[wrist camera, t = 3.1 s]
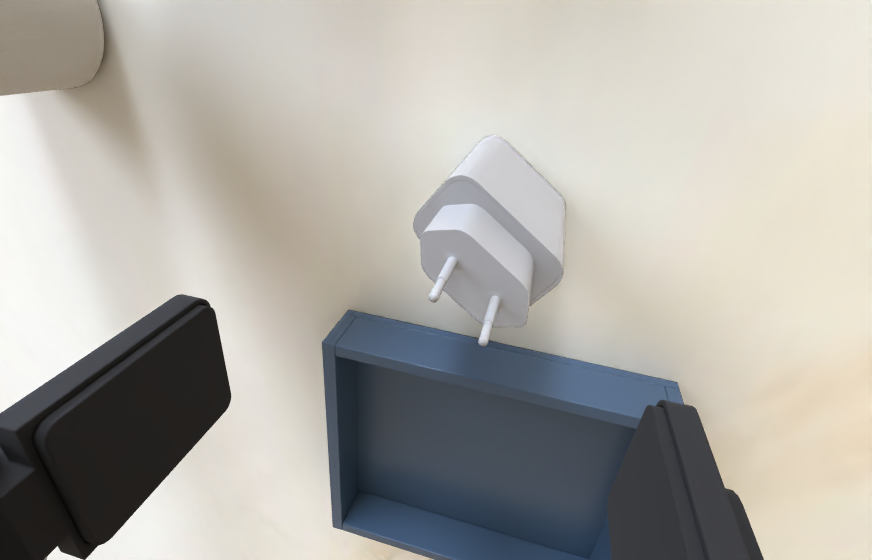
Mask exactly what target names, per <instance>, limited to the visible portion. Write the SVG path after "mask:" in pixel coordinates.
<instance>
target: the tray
mask: <svg viewBox="0 0 872 560" xmlns="http://www.w3.org/2000/svg"><path fill="white" fill-rule="evenodd" d="M478 340H479V338H474V337H470V336H465V335H461V334H456V333H452V332H447V331H443V330H438V329H434V328H429V327H425V326H420V325H416V324H411V323H407V322H402V321H398V320H393V319H388V318H384V317H379V316H375V315H370V314H366V313H361V312H357V311H352V310H348V311H347V312H346V313H345V315H344V316H343V317H342V318H341V319H340V321H339V322H338V323H337V324H336V326H335V327H334V328H333V329H332V331H331V332H330V333H329V334H328V335H327V337H326V338H325V339H324V340H323V342H322V351H323V368H324V385H325V402H326V419H327V436H328V453H329V470H330V487H331V504H332V521H333V527H334V528H338V529H341V530H342V529H343V530H344V531H347V532H350V533H354V534H357V535H360V536H363V537H366V538H369V539H372V540H375V541H379V542H382V543H385V544H388V545H391V546H394V547H397V548H400V549H404V550H407V551H410V552H413V553H416V554H419V555H422V556H425V557H429V558H432V559H435V560H612V556H611V546H610V535H609V524H608V514H607V504H608V497H609V493H610V490H611V488H612V486H613V483H614V481H615V479H616V476H617V474H618V472H619V469H620V467H621V464H622V462H623V460H624V457H625V455H626V453H627V450H628V448H629V446H630V443H631V441H632V438H633V436H634V434H635V431H636V429H637V427H638V424H639V422H640V420H641V417H642V415H643V412H644V410H645V408H646V406H648V405H653V406H656V404H657V403H658V402H659V401H660V400H666V401H671V402H675V403H680V404H684V403H683V400H682V396H681V393H680V390H679V386H678V383H677V382H673V381H668V380H664V379H659V378H655V377H650V376H646V375H641V374H637V373H632V372H628V371H623V370H619V369H614V368H610V367H605V366H601V365H596V364H592V363H587V362H583V361H578V360H574V359H569V358H565V357H560V356H556V355H551V354H547V353H542V352H537V351H533V350H528V349H524V348H519V347H515V346H510V345H506V344H501V343H497V342H492V341H488V344H487V345H486V346H481V345H479V343H478Z"/></svg>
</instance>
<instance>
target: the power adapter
mask: <svg viewBox="0 0 872 560" xmlns="http://www.w3.org/2000/svg"><path fill="white" fill-rule="evenodd" d="M565 211H566V205H565V201H564V199H563V198H562V196H561V195H560V194H559V193H558V192H557V191H556V190H555V189H554V188H553V187H552V186H551V185H550V184H549V183H548V182H547V181H546V180H545V179H543V178H542V177H541V176H540V175H539V174H538V173H537V172H536V171H535V170H534V169H533V168H532V167H531V166H530V165H529V164H528V163H527V162H526V161H525V160H524V159H523V158H522V157H521V156H520V155H519V154H518V153H517V152H516V151H515V150H514V149H513V148H512V147H511V146H510V145H509V144H508V143H507V142H506V141H505V140H503V139H502V138H501V137H498V136H495V135H491V136H487V137H485V138H483V139H482V140H481V141H480V142H479V143H478V144H477V145H476V146H475V148H474V149H473V150H472V151H471V152H470V153H469V154H468V155H467V156H466V158H465V159H464V160H463V161H462V162H461V163H460V164H459V165H458V166H457V168H456V169H455V170H454V171H453V172H452V173H451V174H450V176H449V177H448V178H447V179H446V180H445V181H444V183H443V184H442V185H441V186H440V187H439V188H438V189H437V191H436V192H435V193H434V194H433V195H432V196H431V197H430V199H429V200H428V201H427V202H426V203H425V204H424V205H423V207H422V208H421V209H420V210H419V211H418V212H417V214H416V215H415V218H414V223H413V228H414V232H415V233H416V235H417V237H418V238H419V239H420V245H421V265H422V268H423V270H424V272H425V273H426V275H427V276H428V277H429V278H430V279H431V280H432V281H433V282H434V283H435V285H434V287H433V289H432V291H431V293H430V294H429V296H428V298H429V300H430V301H431V302H436V301H437V300H438V298H439V296H440V294H441V292H442V290H443V291H444V292H446V293H447V294H448V295H449V296H450V297H451V298H452V299H453V300H455V301H456V302H457V303H458V304H459V305H460V306H461V307H462V308H464V309H465V310H466V311H467V312H468V313H469V314H470V315H471V316H472V317H474V318H475V319H476V320H477V321H479V322H480V323H482V324H483V327H482V331H481V334H480V337H479V340H478V343H479V345H481V346H486V345H487V344H488V340H489V337H490V333H491V329H492V327H522V326H524V325H525V324H526V321H527V316H528V310H529V306H531V305H532V304H533V303H535V302H536V301H537V300H539V299H540V298H541V297H542V296H544V295H545V294H546V293H548V292H549V291H550V290H552V289H553V288H554V287H555V286H557V285H558V284H559V282H560V281H561V279H562V276H563V266H564V238H565Z"/></svg>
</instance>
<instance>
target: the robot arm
mask: <svg viewBox="0 0 872 560" xmlns="http://www.w3.org/2000/svg"><path fill="white" fill-rule="evenodd" d="M230 401H231V391H230V386H229V381H228V376H227V371H226V366H225V361H224V356H223V350H222V345H221V340H220V335H219V330H218V325H217V320H216V314H215V311H214V309H213V308H211V307H210V304H209V303H208V301H207V300H204V299H201V298H196V297H192V296H187V295H177V296H175V297H173V298H172V299H170V300H169V301H167V302H166V303H164V304H163V305H161V306H160V307H158V308H157V309H155V310H154V311H152V312H151V313H149V314H148V315H146V316H145V317H143V318H142V319H140V320H139V321H137V322H136V323H134V324H133V325H131V326H130V327H128V328H127V329H125V330H124V331H122V332H121V333H119V334H118V335H116V336H115V337H113V338H112V339H110V340H109V341H107V342H106V343H105V344H103V345H102V346H100V347H99V348H97V349H96V350H94V351H93V352H91V353H90V354H88V355H87V356H85V357H84V358H82V359H81V360H79V361H78V362H76V363H75V364H73V365H72V366H70V367H69V368H67V369H66V370H64V371H63V372H61V373H60V374H58V375H57V376H55V377H54V378H52V379H51V380H49V381H48V382H46V383H45V384H43V385H42V386H40V387H39V388H38V389H36V390H35V391H33V392H32V393H30V394H29V395H27V396H26V397H24V398H23V399H21V400H20V401H18V402H17V403H15V404H14V405H12V406H11V407H9V408H8V409H6V410H5V411H3V412H2V413H0V560H47V556H48V555H49V554H50V553H51V552H52V551H53V550H54V549H55V548H56V547H57V546H58V547H59V549H60V551H61V552H63V553H66V554H69V555H72V556H75V557H77V558H80V559H83V560H85V559H86V558H87V557H88V556H89V555H90V554H91V553H92V552H93V551H94V549H95V548H96V547H97V546H98V545H101V544H104V543H106V542H107V541H109V540H110V539H111V538H112V537H113V536H114V535H115V534H116V532H117V531H118V530H119V529H120V528H121V527H122V526H123V525H124V524H125V522H126V521H127V520H128V519H129V518H130V517H131V516H132V515H133V514H134V512H135V511H136V510H137V509H138V508H139V507H140V506H141V505H142V503H143V502H144V501H145V500H146V499H147V498H148V497H149V496H150V495H151V493H152V492H153V491H154V490H155V489H156V488H157V487H158V486H159V485H160V483H161V482H162V481H163V480H164V479H165V478H166V477H167V476H168V475H169V473H170V472H171V471H172V470H173V469H174V468H175V467H176V466H177V465H178V463H179V462H180V461H181V460H182V459H183V458H184V457H185V456H186V454H187V453H188V452H189V451H190V450H191V449H192V448H193V447H194V446H195V444H196V443H197V442H198V441H199V440H200V439H201V438H202V437H203V436H204V434H205V433H206V432H207V431H208V430H209V429H210V428H211V427H212V426H213V424H214V423H215V422H216V421H217V420H218V419H219V418H220V417H221V416H222V414H223V413H224V412H225V411H226V410H227V408H228V406H229V404H230ZM607 514H608V524H609V535H610V546H611V556H612V560H764V559H763V556H762V554H761V551H760V548H759V546H758V543H757V541H756V538H755V535H754V533H753V530H752V528H751V525H750V522H749V520H748V517H747V515H746V512H745V509H744V507H743V504H742V503H741V501H740V499H739V497H738V495H737V494H736V493H735V492H734V491H733V490H729V489H726V488H725V487H724V484H723V482H722V479H721V476H720V473H719V471H718V468H717V465H716V462H715V459H714V457H713V454H712V451H711V448H710V445H709V443H708V440H707V437H706V434H705V432H704V429H703V426H702V423H701V420H700V418H699V415H698V412H697V410H696V408H694V407H693V406H689V405H684V404H680V403H675V402H671V401H666V400H660V401H659V402H658V403H657V404H656V406H653V405H648V406H646V408H645V410H644V412H643V415H642V417H641V420H640V422H639V424H638V427H637V429H636V431H635V434H634V436H633V438H632V441H631V443H630V446H629V448H628V450H627V453H626V455H625V457H624V460H623V462H622V464H621V467H620V469H619V472H618V474H617V476H616V479H615V481H614V483H613V486H612V488H611V490H610V493H609V497H608V504H607Z"/></svg>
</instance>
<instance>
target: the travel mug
mask: <svg viewBox="0 0 872 560" xmlns="http://www.w3.org/2000/svg"><path fill="white" fill-rule="evenodd" d="M103 52H104V30H103V23H102V18H101V13H100V9H99V6H98V3H97V0H0V96H2V95H11V94H20V93H30V92H39V91H48V90H57V89H67V88H75V87H79V86H82V85H84V84H86V83H87V82H89V81H90V80H91V79H92V78H93V77H94V76H95V74H96V73H97V71H98V69H99V67H100V64H101V61H102V57H103Z"/></svg>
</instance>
